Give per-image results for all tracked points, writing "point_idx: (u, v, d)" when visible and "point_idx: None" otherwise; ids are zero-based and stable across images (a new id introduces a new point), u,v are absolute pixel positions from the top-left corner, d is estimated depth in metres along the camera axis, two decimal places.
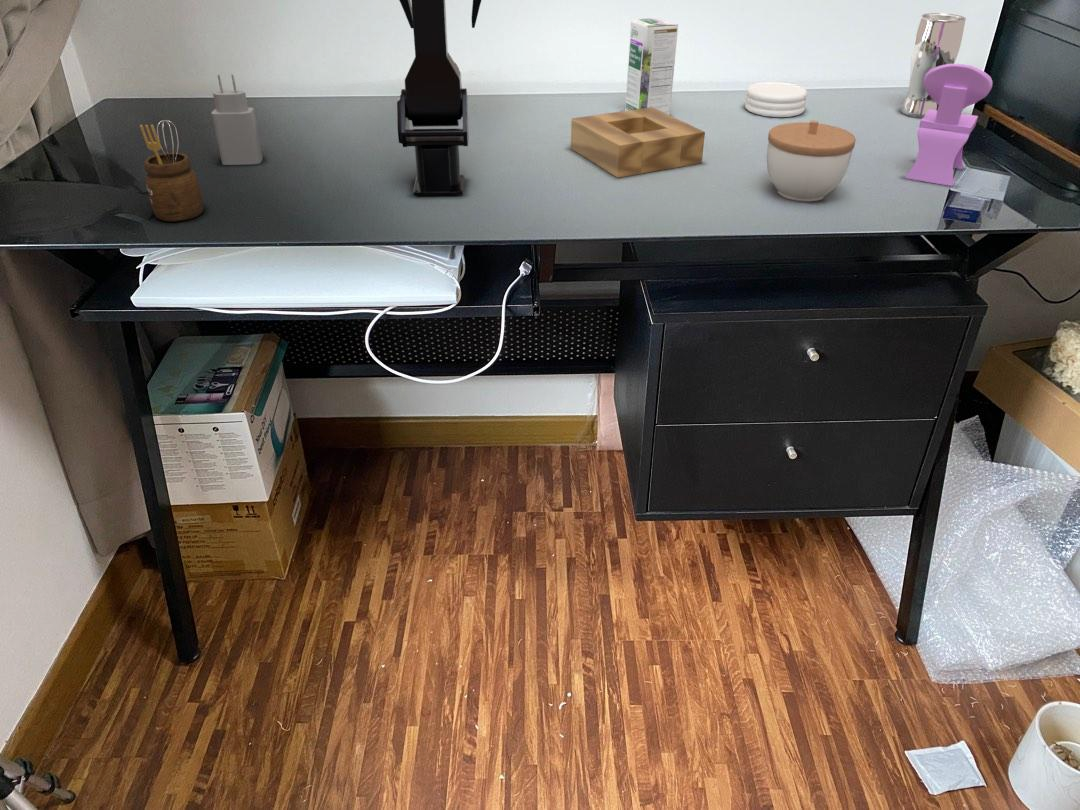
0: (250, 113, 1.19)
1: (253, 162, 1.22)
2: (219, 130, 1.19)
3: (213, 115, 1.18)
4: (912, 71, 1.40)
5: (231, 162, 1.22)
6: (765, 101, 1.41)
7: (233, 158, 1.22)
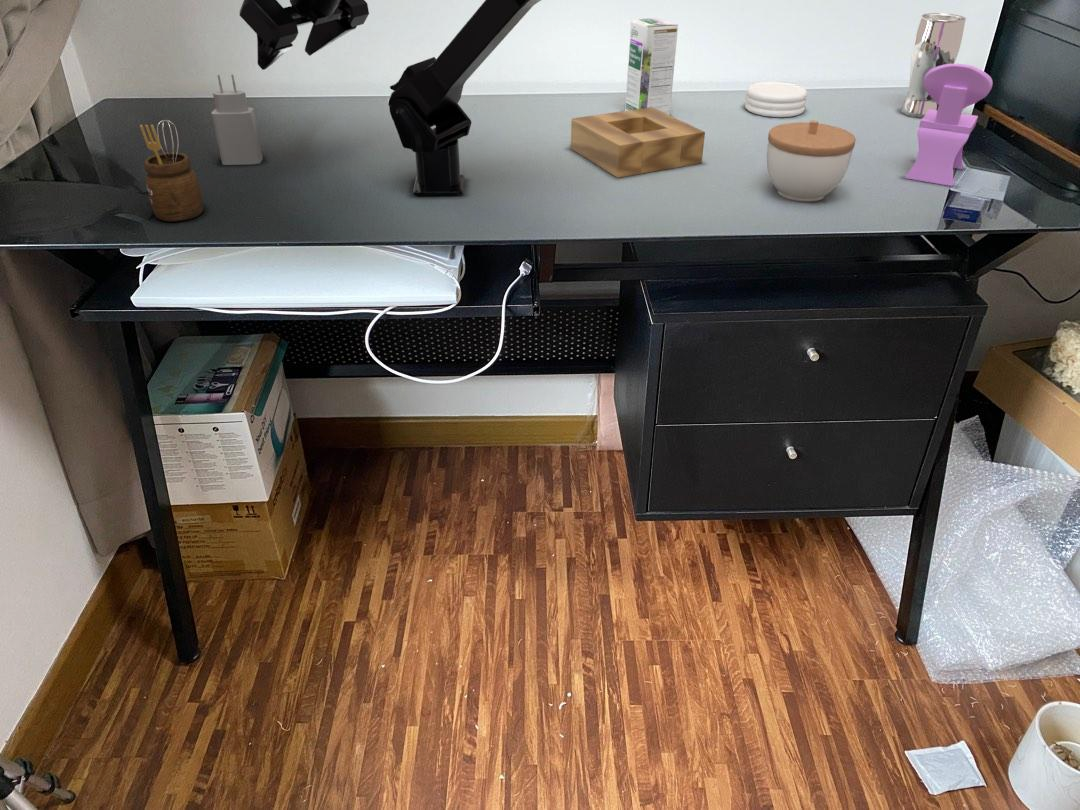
0: (250, 113, 1.19)
1: (253, 162, 1.22)
2: (219, 130, 1.19)
3: (213, 115, 1.18)
4: (912, 71, 1.40)
5: (231, 162, 1.22)
6: (765, 101, 1.41)
7: (233, 158, 1.22)
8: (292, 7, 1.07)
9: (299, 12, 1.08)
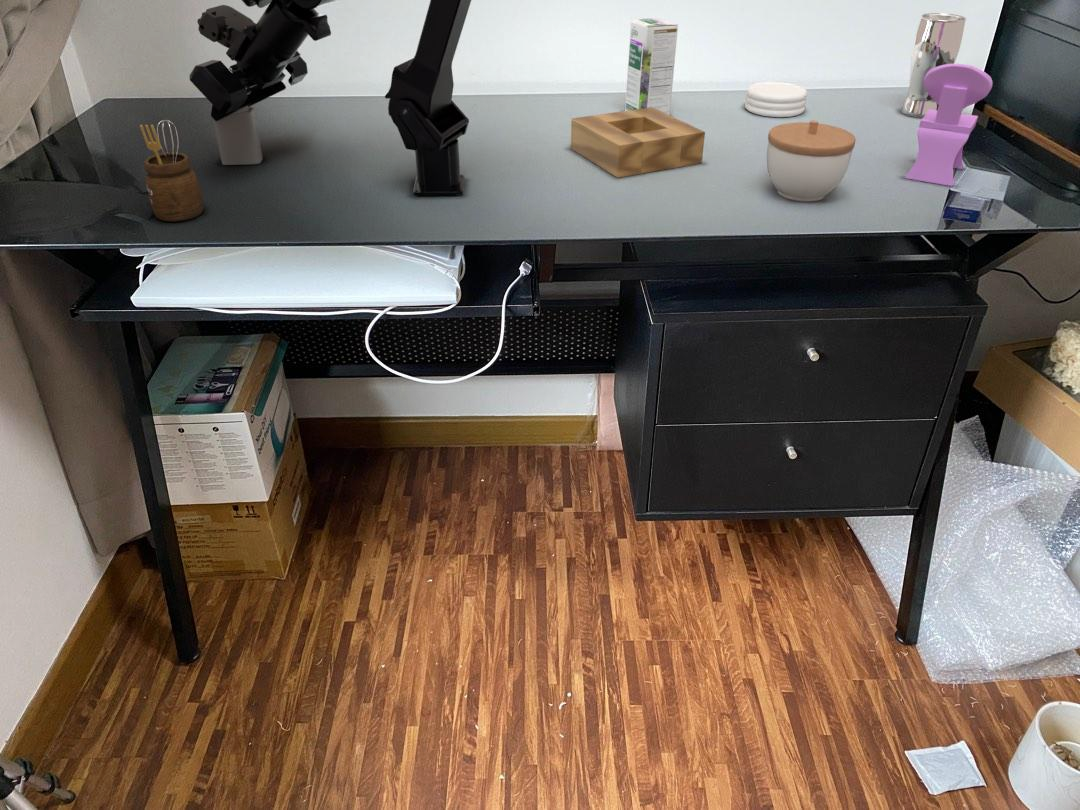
0: (250, 113, 1.19)
1: (253, 162, 1.22)
2: (219, 130, 1.19)
3: None
4: (912, 71, 1.40)
5: (231, 162, 1.22)
6: (765, 101, 1.41)
7: (233, 158, 1.22)
8: (239, 71, 1.12)
9: (246, 76, 1.12)
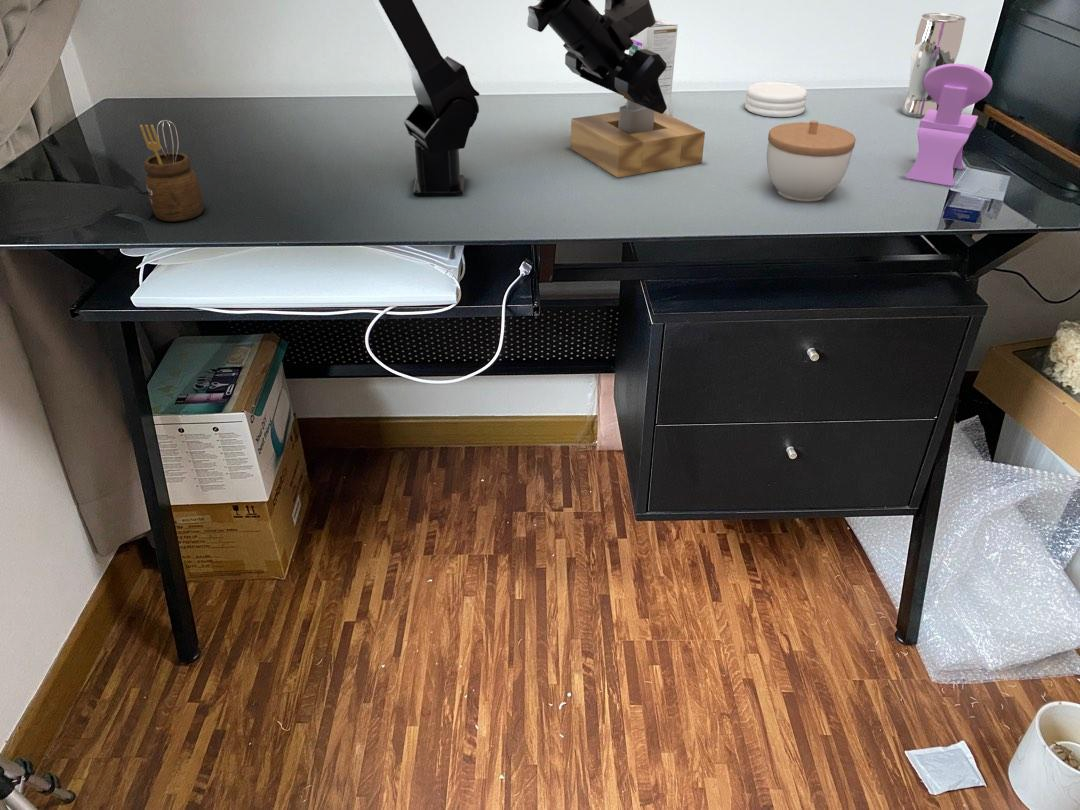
0: (620, 109, 1.20)
1: None
2: None
3: None
4: (912, 71, 1.40)
5: None
6: (765, 101, 1.41)
7: None
8: None
9: None
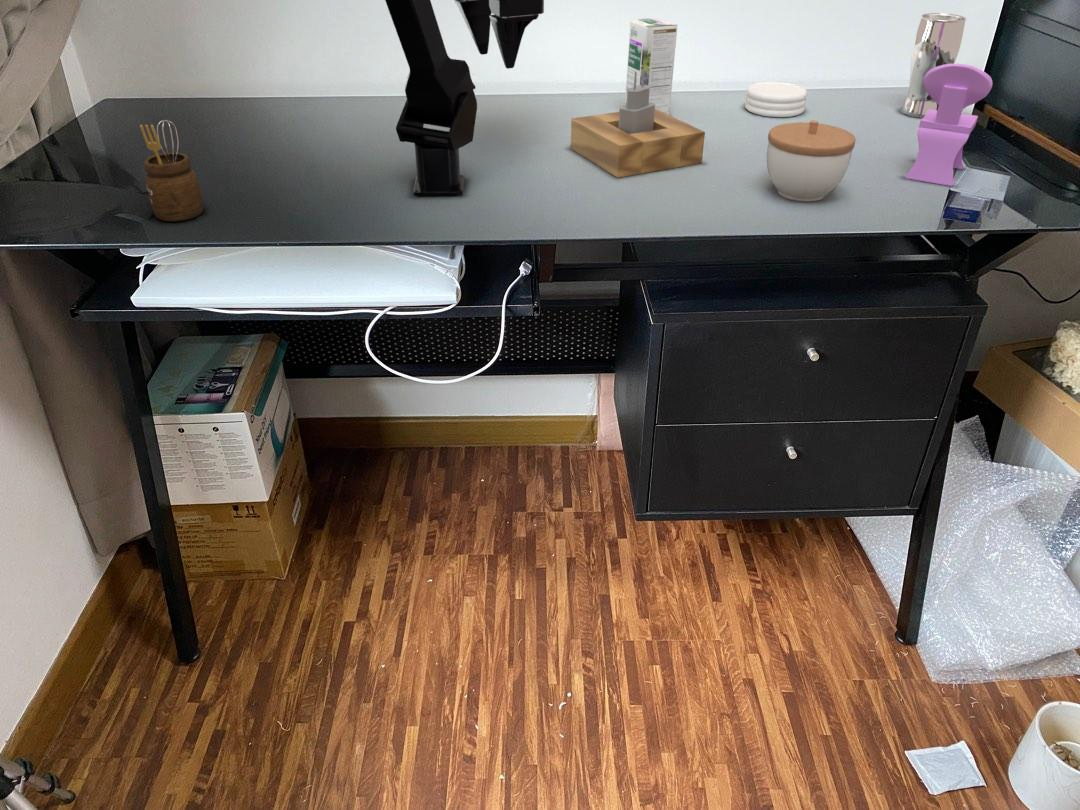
0: (620, 109, 1.20)
1: None
2: None
3: None
4: (912, 71, 1.40)
5: None
6: (765, 101, 1.41)
7: None
8: None
9: None
